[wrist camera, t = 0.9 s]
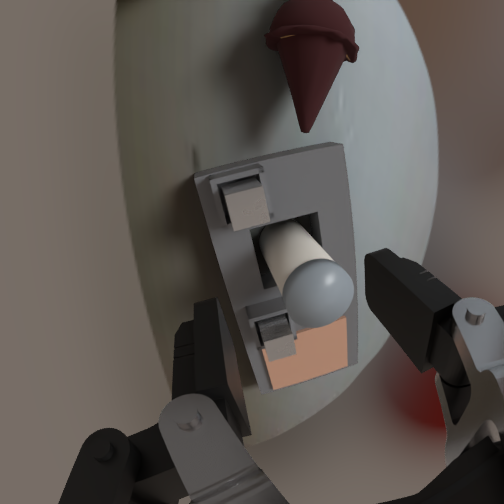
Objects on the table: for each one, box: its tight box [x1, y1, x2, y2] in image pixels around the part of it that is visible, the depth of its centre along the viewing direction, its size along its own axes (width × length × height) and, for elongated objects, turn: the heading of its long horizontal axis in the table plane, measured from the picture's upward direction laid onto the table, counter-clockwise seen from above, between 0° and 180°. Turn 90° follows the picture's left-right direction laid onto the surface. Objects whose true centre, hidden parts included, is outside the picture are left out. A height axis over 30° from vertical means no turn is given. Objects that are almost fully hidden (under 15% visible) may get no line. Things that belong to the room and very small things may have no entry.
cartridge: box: [259, 219, 354, 328], centre depth 23 cm, size 5×5×10 cm
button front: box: [222, 177, 270, 231], centre depth 20 cm, size 2×2×3 cm
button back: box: [257, 314, 297, 362], centre depth 25 cm, size 2×2×3 cm
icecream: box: [264, 0, 359, 133], centre depth 18 cm, size 7×7×15 cm
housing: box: [194, 142, 358, 394], centre depth 28 cm, size 25×12×4 cm, turn 13°
